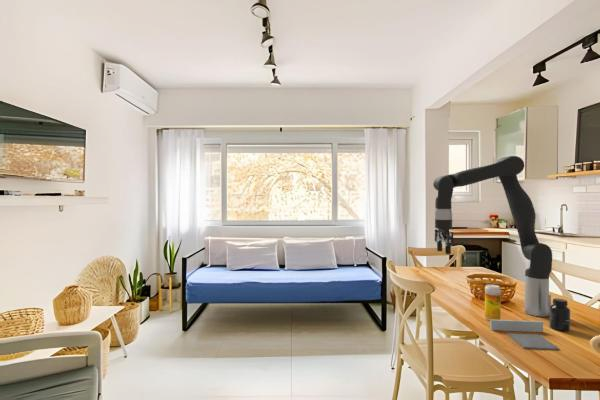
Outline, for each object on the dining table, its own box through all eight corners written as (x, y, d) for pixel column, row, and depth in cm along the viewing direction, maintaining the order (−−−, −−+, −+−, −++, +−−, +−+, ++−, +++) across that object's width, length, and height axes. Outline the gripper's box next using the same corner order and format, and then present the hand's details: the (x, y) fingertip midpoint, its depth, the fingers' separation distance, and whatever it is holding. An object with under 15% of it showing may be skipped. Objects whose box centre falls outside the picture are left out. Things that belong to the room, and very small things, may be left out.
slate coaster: (539, 336, 134) (539, 334, 134) (559, 350, 122) (559, 348, 122) (507, 334, 135) (507, 333, 135) (523, 348, 123) (523, 346, 123)
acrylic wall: (541, 331, 139) (541, 321, 139) (543, 332, 138) (543, 322, 138) (490, 329, 141) (490, 319, 141) (491, 330, 140) (491, 320, 140)
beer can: (494, 323, 148) (495, 288, 148) (481, 318, 153) (482, 285, 153) (503, 320, 151) (503, 286, 150) (490, 316, 156) (490, 283, 156)
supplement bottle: (571, 333, 137) (571, 303, 137) (550, 329, 141) (550, 300, 140) (568, 327, 143) (569, 299, 143) (548, 324, 146) (549, 296, 146)
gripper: (458, 219, 155) (459, 255, 155) (444, 217, 169) (444, 250, 169) (442, 219, 154) (442, 255, 155) (429, 217, 169) (429, 250, 169)
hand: (443, 252), depth 162 cm, fingers open, 8 cm apart
